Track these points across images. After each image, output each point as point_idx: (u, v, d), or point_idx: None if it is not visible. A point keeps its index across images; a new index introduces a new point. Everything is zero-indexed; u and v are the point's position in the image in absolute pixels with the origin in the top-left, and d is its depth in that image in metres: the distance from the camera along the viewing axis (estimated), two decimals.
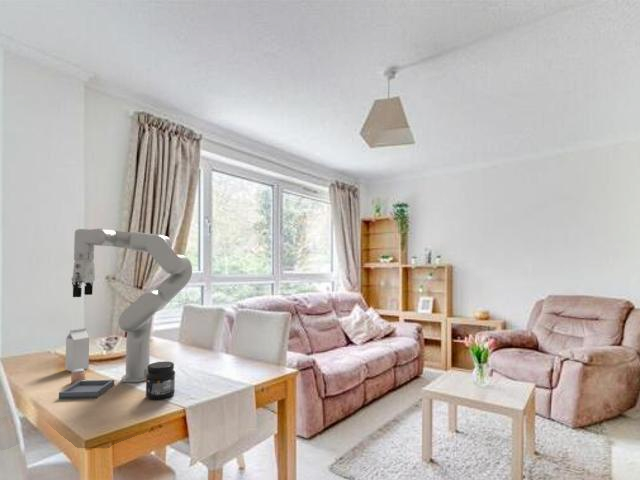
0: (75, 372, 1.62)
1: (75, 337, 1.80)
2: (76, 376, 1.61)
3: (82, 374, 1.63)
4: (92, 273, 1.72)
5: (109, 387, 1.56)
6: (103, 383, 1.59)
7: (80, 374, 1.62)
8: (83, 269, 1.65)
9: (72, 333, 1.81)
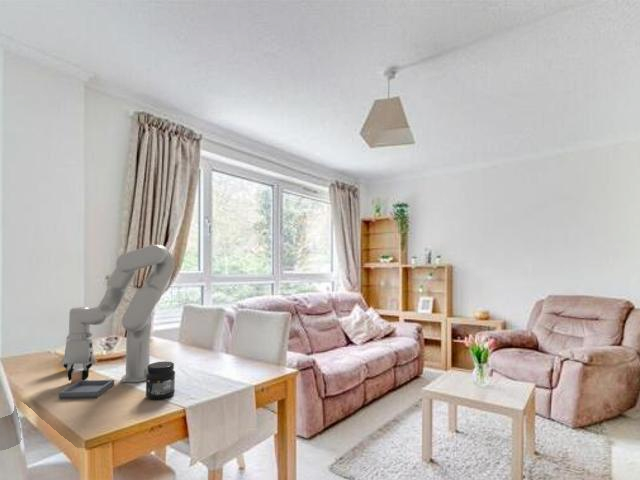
0: (75, 372, 1.62)
1: None
2: (76, 376, 1.61)
3: None
4: None
5: (109, 387, 1.56)
6: (103, 383, 1.59)
7: (80, 374, 1.62)
8: (92, 347, 1.67)
9: None
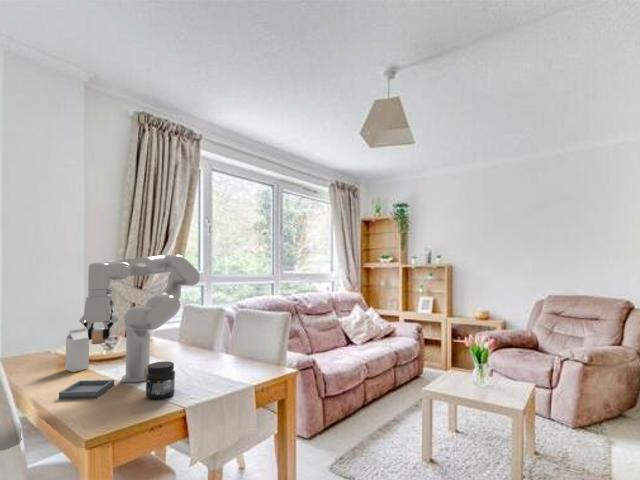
0: (95, 331, 1.52)
1: (75, 337, 1.80)
2: (97, 335, 1.51)
3: None
4: None
5: (109, 387, 1.56)
6: (103, 383, 1.59)
7: (101, 333, 1.52)
8: (113, 305, 1.56)
9: (72, 333, 1.81)
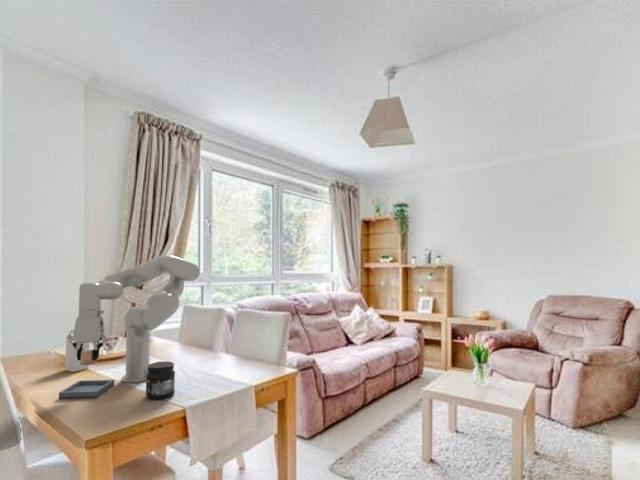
0: (85, 351, 1.51)
1: None
2: (86, 356, 1.50)
3: (92, 354, 1.52)
4: None
5: (109, 387, 1.56)
6: (103, 383, 1.59)
7: (90, 354, 1.51)
8: (103, 326, 1.56)
9: (72, 333, 1.81)
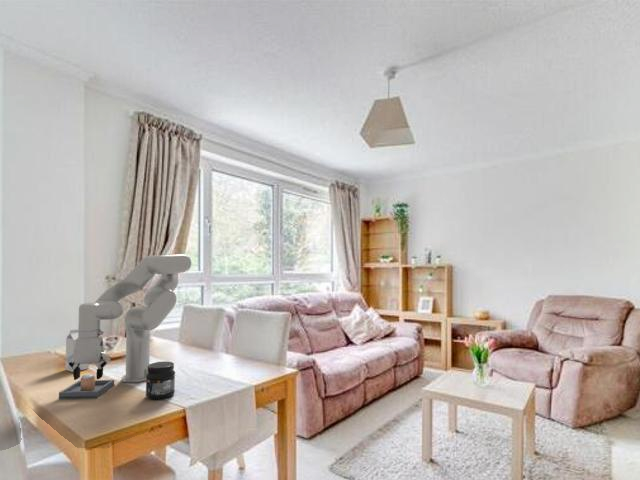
0: (85, 378, 1.50)
1: (75, 337, 1.80)
2: (86, 383, 1.50)
3: (92, 380, 1.52)
4: None
5: (109, 387, 1.56)
6: (103, 383, 1.59)
7: (90, 380, 1.51)
8: (103, 346, 1.56)
9: (72, 333, 1.81)
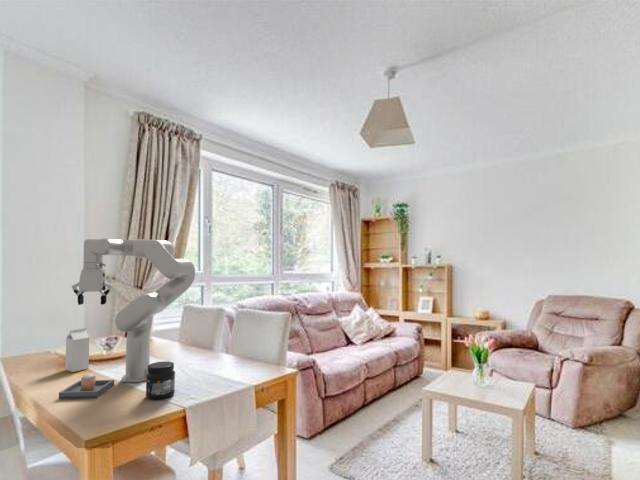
0: (85, 378, 1.50)
1: (75, 337, 1.80)
2: (86, 382, 1.50)
3: (92, 380, 1.51)
4: None
5: (109, 387, 1.56)
6: (103, 383, 1.59)
7: (90, 380, 1.51)
8: (105, 277, 1.76)
9: (72, 333, 1.81)
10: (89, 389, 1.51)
